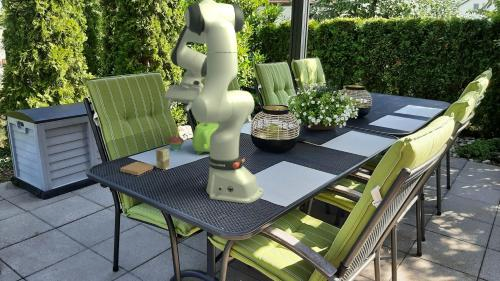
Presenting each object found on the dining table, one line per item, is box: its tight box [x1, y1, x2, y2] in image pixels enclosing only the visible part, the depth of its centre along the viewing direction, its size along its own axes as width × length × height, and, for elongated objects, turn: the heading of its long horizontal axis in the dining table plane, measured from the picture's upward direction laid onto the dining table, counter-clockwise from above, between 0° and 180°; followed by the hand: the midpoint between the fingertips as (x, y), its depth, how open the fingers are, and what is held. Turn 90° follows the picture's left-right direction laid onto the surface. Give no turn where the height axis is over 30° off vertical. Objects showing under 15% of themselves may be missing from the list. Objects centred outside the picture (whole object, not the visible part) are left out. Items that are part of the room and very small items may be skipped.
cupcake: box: [166, 128, 184, 151], centre depth 197 cm, size 9×8×12 cm
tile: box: [120, 161, 155, 176], centre depth 167 cm, size 10×10×2 cm
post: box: [155, 147, 170, 171], centre depth 169 cm, size 4×4×9 cm
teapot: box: [191, 122, 220, 154], centre depth 196 cm, size 25×22×16 cm
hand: (177, 109), depth 174 cm, fingers open, 8 cm apart
